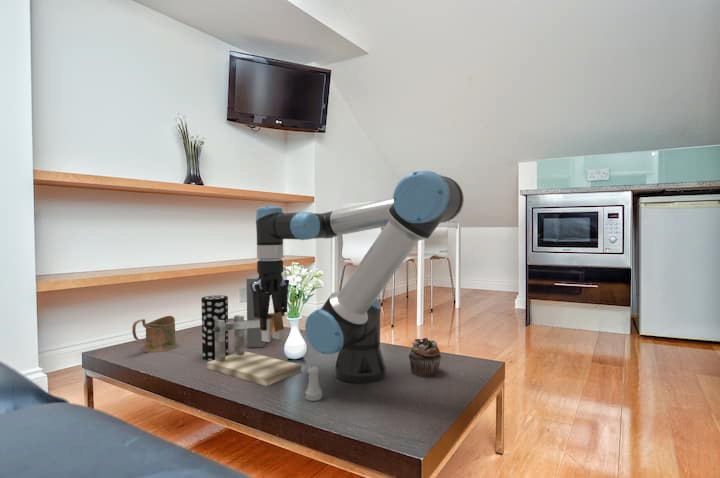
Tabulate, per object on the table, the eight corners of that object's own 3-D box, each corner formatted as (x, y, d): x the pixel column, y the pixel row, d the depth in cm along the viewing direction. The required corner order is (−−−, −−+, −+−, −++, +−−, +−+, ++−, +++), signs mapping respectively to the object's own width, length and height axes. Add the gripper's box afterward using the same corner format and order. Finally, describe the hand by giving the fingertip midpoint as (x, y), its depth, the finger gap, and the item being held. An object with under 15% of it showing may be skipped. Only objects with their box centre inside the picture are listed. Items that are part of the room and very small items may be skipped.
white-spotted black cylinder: (232, 353, 146) (231, 295, 145) (222, 360, 137) (221, 299, 137) (209, 352, 146) (208, 295, 146) (197, 360, 138) (196, 299, 138)
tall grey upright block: (264, 347, 152) (263, 278, 151) (246, 348, 152) (246, 278, 151) (269, 337, 166) (269, 274, 165) (254, 338, 166) (253, 274, 165)
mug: (120, 355, 144) (120, 320, 143) (160, 342, 160) (159, 310, 160) (147, 358, 140) (147, 322, 140) (185, 344, 157) (184, 312, 156)
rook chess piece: (301, 398, 107) (301, 366, 107) (315, 393, 110) (315, 362, 110) (312, 403, 104) (312, 371, 104) (326, 398, 107) (326, 366, 107)
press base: (301, 371, 127) (300, 323, 126) (266, 386, 115) (266, 333, 115) (243, 356, 141) (242, 313, 141) (207, 368, 130) (206, 321, 129)
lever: (283, 329, 123) (281, 312, 124) (275, 331, 120) (272, 314, 121) (232, 333, 136) (230, 317, 137) (223, 335, 133) (221, 319, 134)
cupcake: (447, 372, 125) (447, 339, 125) (426, 380, 119) (426, 345, 119) (423, 364, 133) (423, 332, 132) (401, 371, 126) (401, 338, 126)
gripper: (281, 257, 132) (282, 332, 133) (238, 261, 118) (240, 344, 119) (299, 258, 128) (300, 335, 128) (257, 262, 114) (258, 348, 115)
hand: (271, 339), depth 124 cm, fingers closed on lever, 3 cm apart
